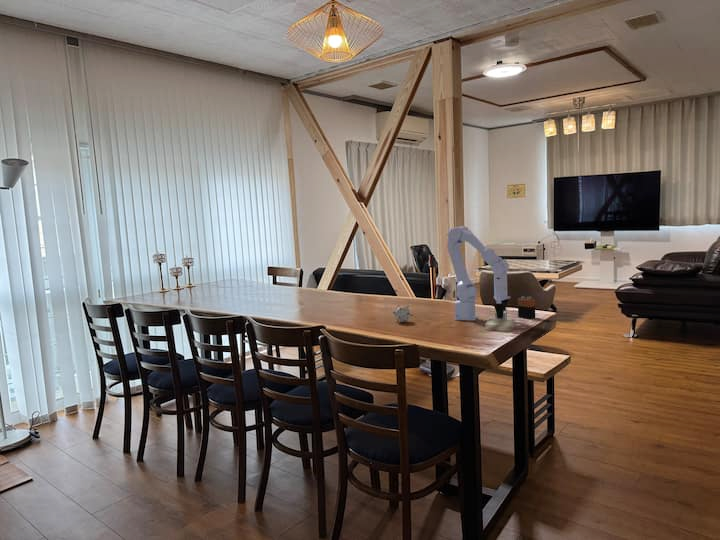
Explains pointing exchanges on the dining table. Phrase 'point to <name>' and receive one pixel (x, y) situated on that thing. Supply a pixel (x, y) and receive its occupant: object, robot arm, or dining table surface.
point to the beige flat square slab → (500, 325)
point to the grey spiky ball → (402, 314)
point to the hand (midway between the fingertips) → (501, 316)
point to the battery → (526, 307)
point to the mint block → (503, 316)
